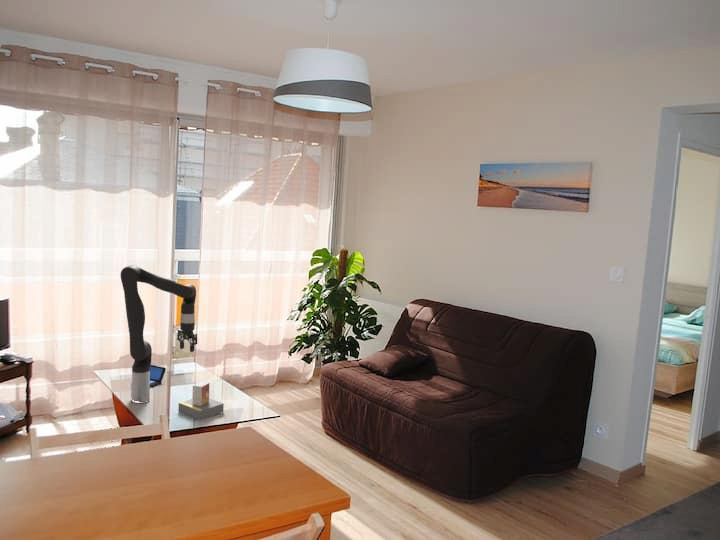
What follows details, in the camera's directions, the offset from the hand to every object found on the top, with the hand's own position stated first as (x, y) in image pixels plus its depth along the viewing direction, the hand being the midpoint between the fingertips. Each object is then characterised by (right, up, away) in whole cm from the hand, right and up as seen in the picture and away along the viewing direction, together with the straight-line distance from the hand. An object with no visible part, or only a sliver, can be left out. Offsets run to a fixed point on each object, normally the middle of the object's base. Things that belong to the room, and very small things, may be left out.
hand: (187, 350), depth 331 cm
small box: (+10, -27, -9) cm, 30 cm away
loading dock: (+10, -32, -8) cm, 34 cm away
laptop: (-33, -25, +34) cm, 54 cm away
